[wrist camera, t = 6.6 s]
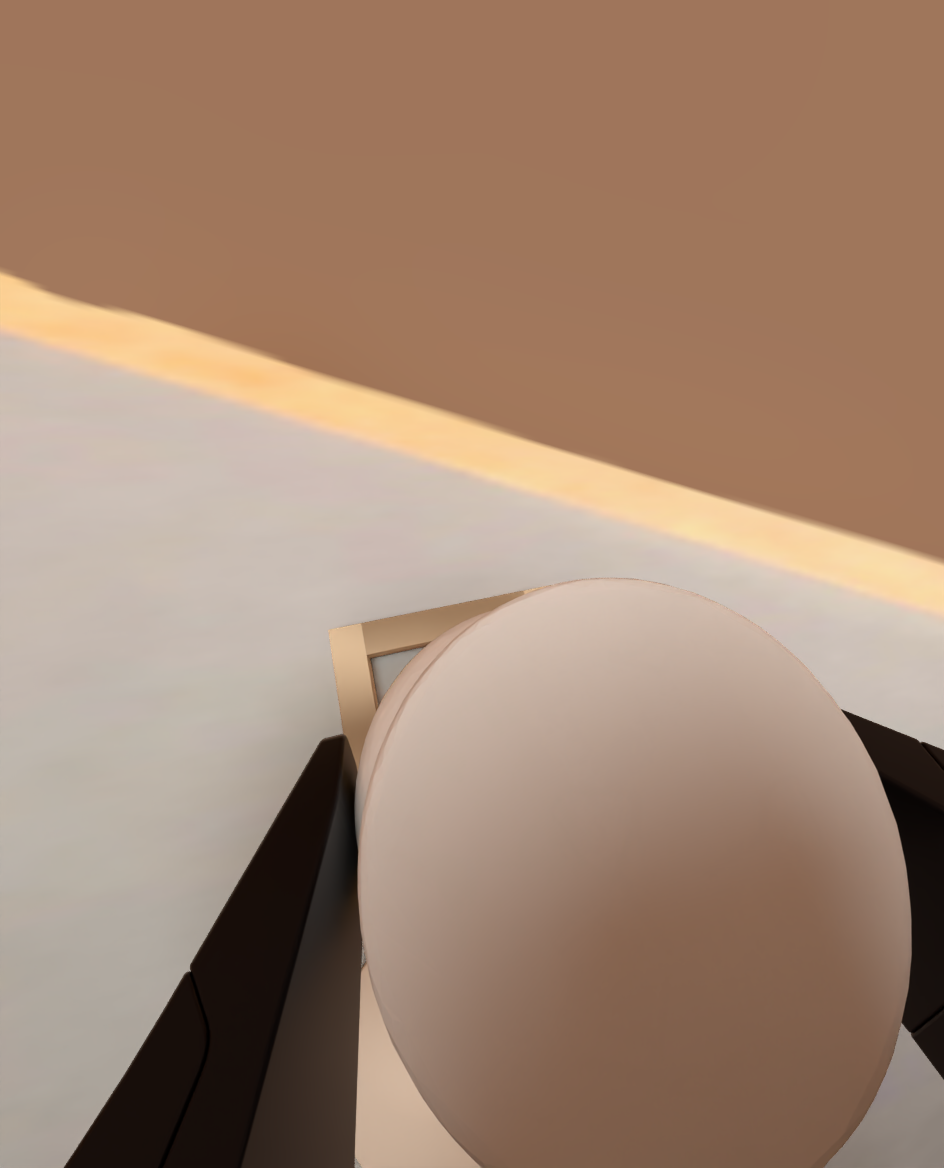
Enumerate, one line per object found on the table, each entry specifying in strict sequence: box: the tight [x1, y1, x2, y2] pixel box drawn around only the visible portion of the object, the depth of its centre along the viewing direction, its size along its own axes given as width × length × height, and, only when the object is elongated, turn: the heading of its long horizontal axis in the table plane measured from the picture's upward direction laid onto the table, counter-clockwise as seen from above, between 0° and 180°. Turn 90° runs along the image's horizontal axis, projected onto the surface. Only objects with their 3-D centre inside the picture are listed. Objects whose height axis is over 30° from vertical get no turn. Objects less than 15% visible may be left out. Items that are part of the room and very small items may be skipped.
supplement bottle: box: [354, 578, 912, 1168], centre depth 9 cm, size 6×6×11 cm
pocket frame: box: [328, 585, 551, 771], centre depth 20 cm, size 11×11×2 cm
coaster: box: [355, 962, 482, 1168], centre depth 17 cm, size 9×9×1 cm
